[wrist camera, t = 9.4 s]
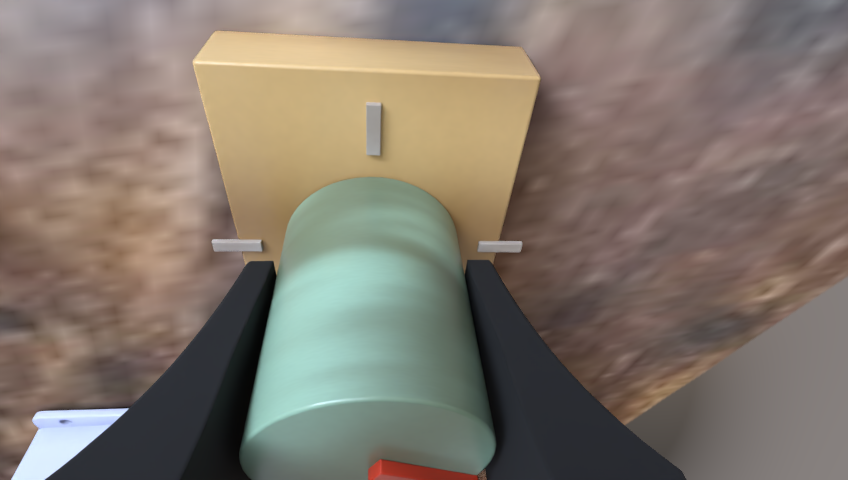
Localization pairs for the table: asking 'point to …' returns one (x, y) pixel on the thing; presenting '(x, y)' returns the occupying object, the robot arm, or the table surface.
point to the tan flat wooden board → (364, 127)
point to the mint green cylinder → (369, 346)
